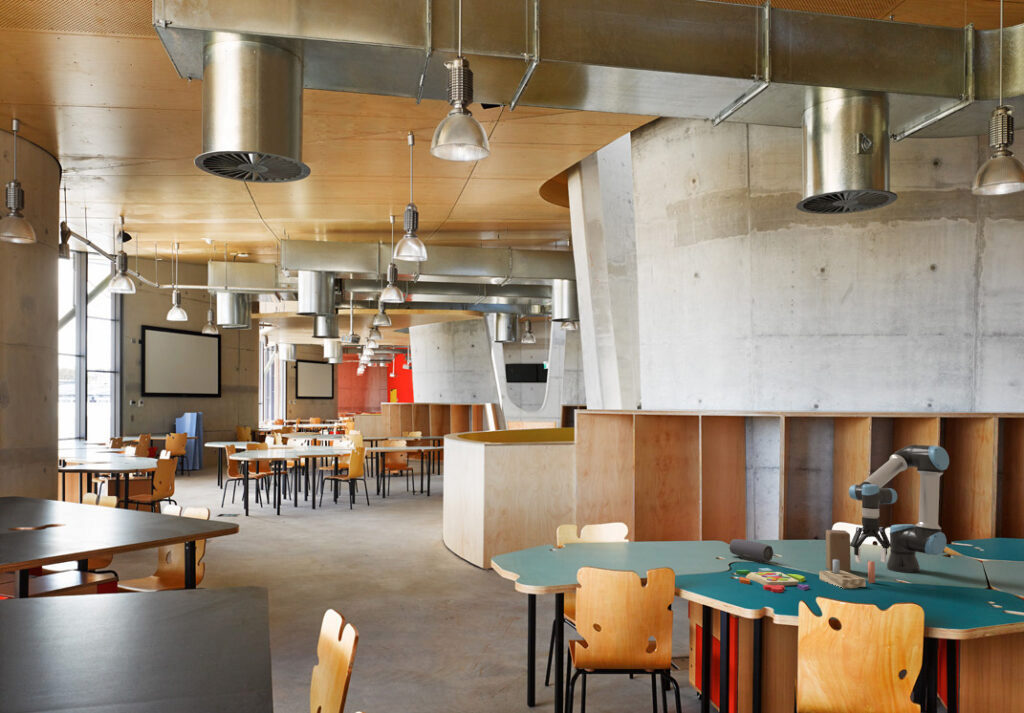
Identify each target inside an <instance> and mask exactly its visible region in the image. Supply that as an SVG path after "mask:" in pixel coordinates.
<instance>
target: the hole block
mask: <svg viewBox="0 0 1024 713" xmlns="http://www.w3.org/2000/svg"><path fill="white" fill-rule="evenodd" d="M818 577H819V580H820V581H823V582H825V583H827V582H828V583H827V584H829V585H832V584H833V586H835V585H836V586H835V587H837V586H839V587H838V588H840V587H842V588H843V589H859V588H858V587H866V581H867V580H866V578H864V577H861V576H858V575H855V574H853V573H851V572H850V573H848V572H845V571H842V570H840V574H833V571H829V570H820V571H819V576H818ZM842 588H841V589H842Z"/></svg>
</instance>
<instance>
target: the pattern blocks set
mask: <svg viewBox="0 0 1024 713" xmlns="http://www.w3.org/2000/svg"><path fill="white" fill-rule="evenodd" d="M735 574H736V575H738V576H739V578H738V579H739V583H740V584H744V585H751V581H754V582H756V583H759V584H761V585H763V586H762V588H763V590H764V591H769V592H772V593H776V594H780V593H783V592H784V591H785V589H786V586H787V587H788V586H797V587H796V588H797V589H800V590H802V591H806V590H810V585H809V584H798V583H803V582H805V581H806V577H805V576H803V575H800V574H794V573H793V574H792V573H786V574H785V573H783V572H781V571H774V570H773V569H771V568H769V567H765V568H762V567H761V568H760V567H759V568H758V571H757V572H756V571H754V572H753V571H751V570H749V569H738V570H736V571H735ZM740 575H741V576H740ZM742 575H743V576H745V575H746V576H745V577H743V576H742Z"/></svg>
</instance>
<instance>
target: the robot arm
mask: <svg viewBox="0 0 1024 713" xmlns="http://www.w3.org/2000/svg"><path fill="white" fill-rule="evenodd" d="M949 465H950V458H949V454H948V451H946V449H945V448H943V447H942V446H938V445H923V444H922V445H921V444H910V445H907V446H904V447H902V448H900V449H898V450H897V451H894V453H892V454H891V455H890V456H889V460H887V462H885V463H884V464H883V465H882V466H880V467H879V468H878V469H877V470H875V471H874V472H873V473H872V474H871V475H869V476H868V477H867V478H865V480H863V481H862V482H861V483H860V484H852V485H850V487H849V489H848V495H849V497H850V498H851V499H852V500H855V501H859V502H861V515H862V517H861V524H862V526H861V527H859V526H856V527H855V533H854V535H853V537H852V540H851V541H850V547H852V548H853V549H854V550H853V552H854V553H853V554H854V555H855V562H856V563H858V564H860V563H861V561H862V560H861V548H860V547H861V546H862V545H863V543H864V541H865V540H866V539H868V538H872V537H873V538H875V539H876V540H877V542H878V543H879V545H880V546H881V547H880V562H882V563H886V568H887V569H888V570H891V571H893V572H899V573H911V574H912V573H913V574H914V573H919V572H920V570H921V569H920V564H919V561H918V559H917V555H916V553H922V554H926V555H931V556H938V555H940V554H942V553H943V552H944V551H945V549H946V546H947V537H946V535H945V533H944V532H942V527H941V526H940V524H939V508H940V507H939V505H940V503H939V501H940V480H941V479H940V477H941V476H942V475H943V474H944V471H945V470H947V469H948V467H949ZM909 468H916V472H918V474H919V475H920V478H919V504H918V522H917V523H916V524H911V523H909V524H908V523H903V524H892V525H891V526H890V528H889V529H890V530H889V538H888V534H887V533H886V528H885V527H883V526H880V505H890V504H894V503H896V502H897V500H898V494H897V491H896V490H895V489H893V488H889V487H884V486H885V485H886V484H887V483H888V482H890V481H892V480H893V478H895V477H896V476H897V475H898V474H899V473H901V472H903V471H906V470H907V469H909ZM883 487H884V488H883ZM879 533H880V534H879ZM888 549H889V550H890V551H889V552H890V554H889V556H888ZM887 556H888V560H887Z"/></svg>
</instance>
